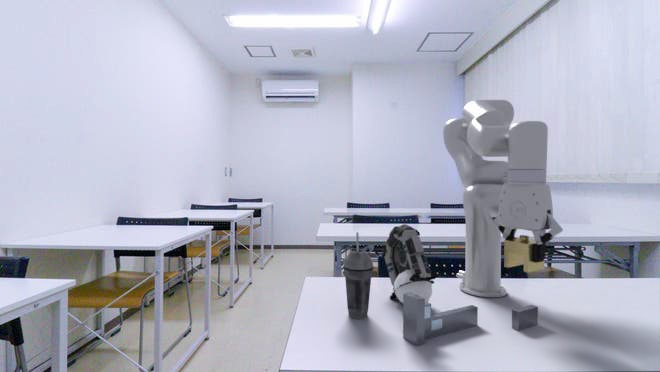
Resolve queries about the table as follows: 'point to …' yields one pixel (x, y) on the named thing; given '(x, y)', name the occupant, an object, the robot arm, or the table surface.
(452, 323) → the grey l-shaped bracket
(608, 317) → the table surface
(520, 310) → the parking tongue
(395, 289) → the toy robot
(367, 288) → the beverage cup
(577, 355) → the table surface
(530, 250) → the tan box with knob
